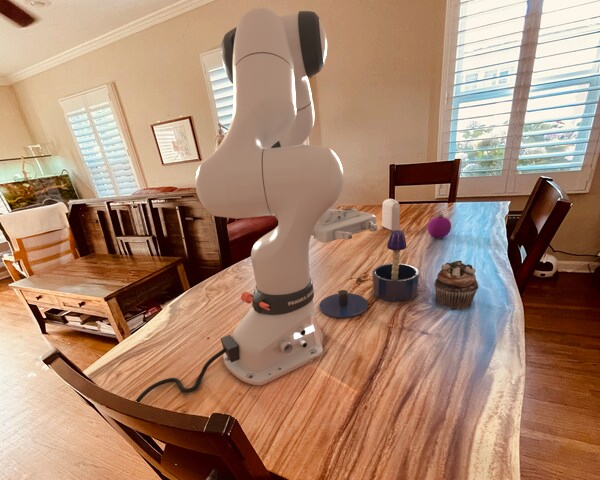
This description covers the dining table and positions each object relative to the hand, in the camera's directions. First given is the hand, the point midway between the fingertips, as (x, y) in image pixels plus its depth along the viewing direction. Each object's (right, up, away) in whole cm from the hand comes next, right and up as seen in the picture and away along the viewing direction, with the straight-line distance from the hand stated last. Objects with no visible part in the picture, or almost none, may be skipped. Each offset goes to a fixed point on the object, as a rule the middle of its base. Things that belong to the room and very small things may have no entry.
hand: (363, 232), depth 87 cm
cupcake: (+21, -19, -9) cm, 30 cm away
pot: (+8, -17, -3) cm, 19 cm away
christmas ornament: (+36, +5, +33) cm, 49 cm away
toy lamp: (+8, -17, -3) cm, 19 cm away
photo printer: (+22, +13, +51) cm, 57 cm away
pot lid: (-6, -20, -7) cm, 22 cm away
